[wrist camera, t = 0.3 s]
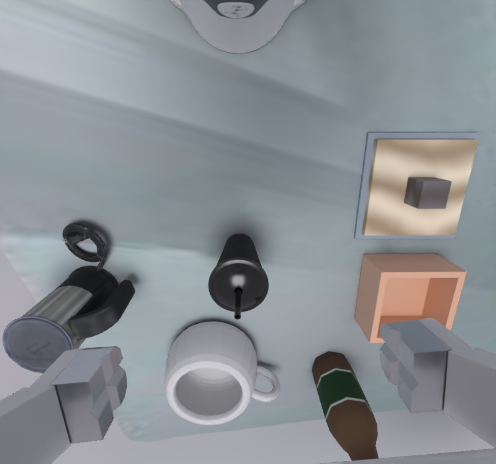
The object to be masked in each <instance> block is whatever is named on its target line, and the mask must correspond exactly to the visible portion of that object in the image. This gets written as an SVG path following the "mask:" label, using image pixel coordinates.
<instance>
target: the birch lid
mask: <svg viewBox="0 0 496 464" xmlns="http://www.w3.org/2000/svg"><path fill="white" fill-rule="evenodd" d="M477 144H478V140H374V146H373V153H372V161H371V168H370V176H369V183H368V190H367V198H366V205H365V212H364V220H363V227H362V234H363V235H364V236H404V235H455V233H456V229H457V225H458V221H459V217H460V213H461V209H462V205H463V201H464V197H465V193H466V189H467V185H468V181H469V176H470V172H471V168H472V164H473V160H474V156H475V152H476V148H477Z"/></svg>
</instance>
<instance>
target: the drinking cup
mask: <svg viewBox="0 0 496 464" xmlns="http://www.w3.org/2000/svg"><path fill="white" fill-rule="evenodd" d="M208 287H209V292H210V295H211V297H212V299H213V300H214V301H215V302H216V303H217V304H218V305H219V306H220V307H222V308H224V309H226V310H229V311H233V312H235V314H234V317H235V319H240V318H241V312H245V311H249V310H251V309H254V308H255V307H257V306H258V305H259V304H261V303H262V301H263V300H264V299H265V297H266V295H267V293H268V288H269V283H268V278H267V275H266V273H265V271H264V270H263V268H262V266H261V264H260V261H259V258H258V255H257V252H256V250H255V247H254V244H253V241H252V240H251V238H250V237H248V236H247V235H245V234H235V235H232V236H231V237H230V238H229V239H228V240H227V242H226V245H225V247H224V249H223V252H222V254H221V256H220V259H219V261H218V263H217V266H216V267H215V268H214V270H213V271H212V273H211V275H210V278H209V284H208Z"/></svg>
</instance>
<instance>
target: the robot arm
mask: <svg viewBox="0 0 496 464" xmlns="http://www.w3.org/2000/svg"><path fill="white" fill-rule="evenodd" d="M170 1H171V2H172V3H173V4H174V5H176V6H177V7H178V8H180V9H181V10H182V11H184V13H185V14H186V15H187V17H188V18H189V20H190V21H191V23H192V25H193V26H194V28H195V29H196V31H197V32H198V33H199V34H200V35H201V37H202V38H203V39H205V40H206V41H207V42H208V43H209V44H211V45H212V46H214V47H216V48H218V49H220V50H223V51H226V52H230V53H246V52H251V51H254V50H256V49H259V48H261V47H262V46H264V45H265V44H267V43H268V42H269V41H270V40H272V39H273V38H274V37H275V35H276V34H277V33H278V32H279V30H280V29H281V28H282V26H283V24H284V22H285V21H286V19H287V17H288V16H289V15H290V13H291V12H292V11H294V10H295V9H296V8H298V7H299V6H300V5H302V4H303V3H304V2H305V1H306V0H170ZM380 337H381V338H382V339H383V340H384V342H385V343H384V344H383V345H382V347H381V348H380V361H381V365H382V369H383V371H384V373H385V376H386V377H387V379H388V380H389V382H391V383H392V384H394V385H396V386H398V395H399V396H400V398H401V399H402V400H403V402H404V403H405V405H406V406H407V408H408V409H409V410H410V412H411V413H421V412H438V411H444V413H445V414H446V415H448V416H449V417H450V418H452V419H453V420H455V421H456V422H458V423H459V424H461V425H462V426H464V427H465V428H467V429H468V430H470V431H471V432H473V433H474V434H475V435H477V436H478V437H480V438H481V439H483V440H484V441H486V442H487V443H489V444H490V445H492V446H493V447H495V448H494V449H483V450H472V451H461V452H450V453H438V454H427V455H415V456H404V457H391V458H381V459H380V458H379V459H367V460H356V461H344V462H332V463H321V464H496V354H494V353H491V352H488V351H485V350H482V349H480V348H476V349H473V348H472V347H471V346H469V345H468V344H467V343H465V342H464V341H463V340H462V339H460V338H459V337H458V336H456V335H455V334H454V333H453V332H451V331H450V330H449V329H447V328H446V327H445V326H443V325H442V324H441V323H440V322H438V321H437V320H436V319H433V318H426V319H418V320H411V321H402V322H393V323H384V324H382V325H381V328H380ZM122 359H123V358H122V354H121V350H120V348H118V347H117V346H113V347H98V348H85V349H84V348H81V349H72V350H67V351H65V352H64V353H63V354H62V355H61V356H60V357H59V358H58V359H57V360H56V361H55V362H54V363H53V364H52V365H51V366H50V367H49V368H48V369H47V370H46V371H45V372H44V373H43V374H42V375H41V376H40V377H39V378H38V379H37V380H36V381H35V382H34V383H33V384H32V385H31V386H30V387H28V388H23V389H21V390H19V391H17V392H15V393H13V394H12V395H10V396H8V397H6V398H4V399H2V400H1V401H0V464H51V463H52V462H53V461H54V460H55V459H57V458H58V457H59V456H60V455H61V454H62V453H63V452H64V451H65V450H66V449H67V448H68V447H69V446H70V444H71V443H80V442H88V441H97V440H103V438H104V436H105V434H106V432H107V431H108V428H109V426H110V425H111V423H112V421H113V419H114V417H113V413H112V412H113V411H114V410H115V409H117V408H118V407H119V406H120V405H121V403H122V401H123V399H124V397H125V393H126V388H127V377H126V372H125V370H124V369H123V368H121V367H120V366H119V364H120V363H121V361H122Z"/></svg>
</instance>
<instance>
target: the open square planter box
mask: <svg viewBox="0 0 496 464" xmlns="http://www.w3.org/2000/svg"><path fill="white" fill-rule="evenodd" d="M466 273H467V272H466V271H465V270H463V269H461V268H460V267H458V266H457V265H455V264H453V263H452V262H450V261H448V260H447V259H445V258H444V257H442V256H440V255H439V254H363V260H362V267H361V274H360V281H359V288H358V295H357V302H356V309H355V317H354V318H355V319H356V321H357V323H358V324H359V326H360V328H361V329H362V331H363V333H364V334H365V336H366V337H367V339H368V341H369V342H370V343H385V342H384V340H383V339H382V338H381V337H380V328H381V325H382V324H384V323H393V322H402V321H411V320H418V319H426V318H433V319H436V320H437V321H438V322H440V323H441V324H442V325H443V326H445V327H446V328H447V329H449V330H450V331H451V327H452V324H453V320H454V316H455V313H456V309H457V306H458V302H459V298H460V295H461V291H462V287H463V284H464V280H465V276H466Z"/></svg>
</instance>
